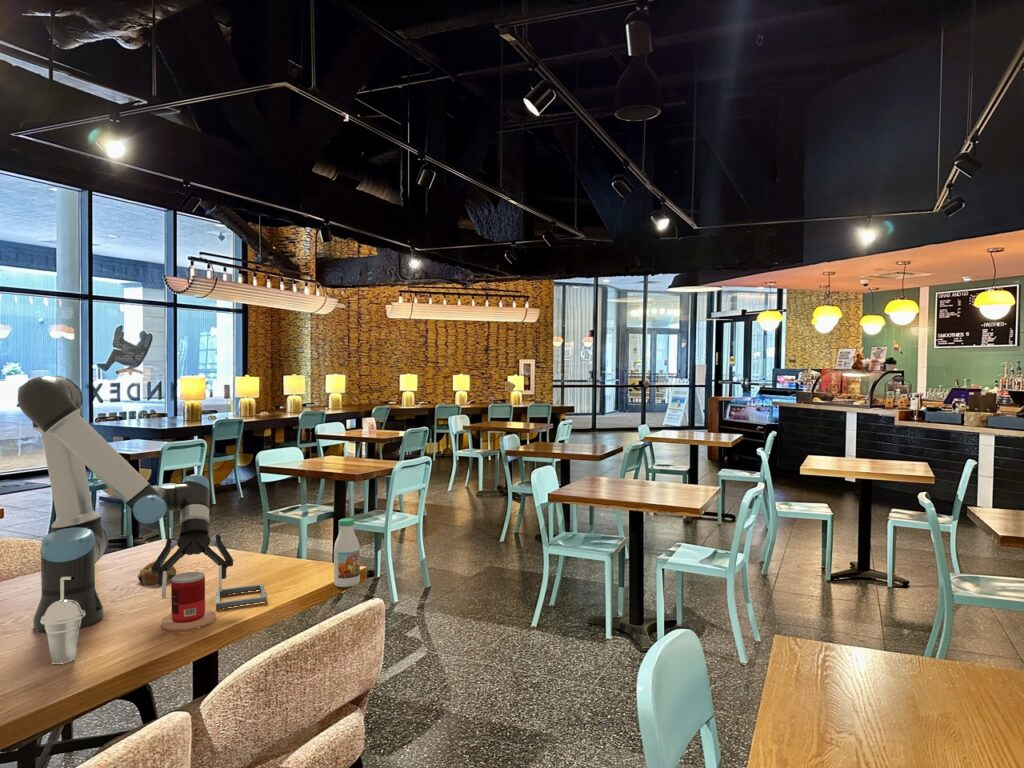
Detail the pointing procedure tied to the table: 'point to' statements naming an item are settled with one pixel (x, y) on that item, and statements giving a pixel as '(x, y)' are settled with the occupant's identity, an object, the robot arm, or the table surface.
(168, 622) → the terracotta plate
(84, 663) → the table surface
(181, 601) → the canned food
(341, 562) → the milk bottle
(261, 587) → the square metal frame
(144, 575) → the bread roll
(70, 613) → the cup with straw
